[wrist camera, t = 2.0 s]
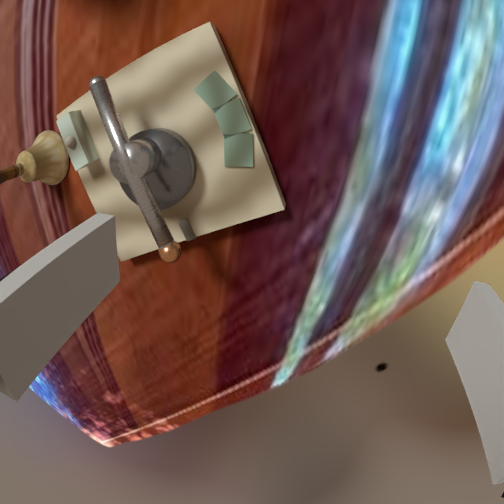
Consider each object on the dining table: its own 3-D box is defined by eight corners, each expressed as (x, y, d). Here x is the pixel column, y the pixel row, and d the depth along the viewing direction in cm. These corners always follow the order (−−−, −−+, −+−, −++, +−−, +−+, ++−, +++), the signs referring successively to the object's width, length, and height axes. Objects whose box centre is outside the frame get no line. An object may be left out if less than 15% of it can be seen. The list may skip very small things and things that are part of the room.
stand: (65, 114, 35) (39, 119, 30) (214, 25, 28) (199, 14, 23) (128, 255, 43) (109, 274, 38) (286, 204, 36) (282, 221, 31)
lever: (94, 96, 31) (58, 99, 26) (155, 58, 29) (123, 52, 23) (161, 249, 39) (137, 276, 33) (226, 229, 36) (209, 256, 30)
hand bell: (41, 190, 41) (-35, 232, 27) (27, 141, 38) (-54, 170, 24) (76, 176, 39) (-9, 219, 25) (61, 122, 36) (-29, 146, 22)
